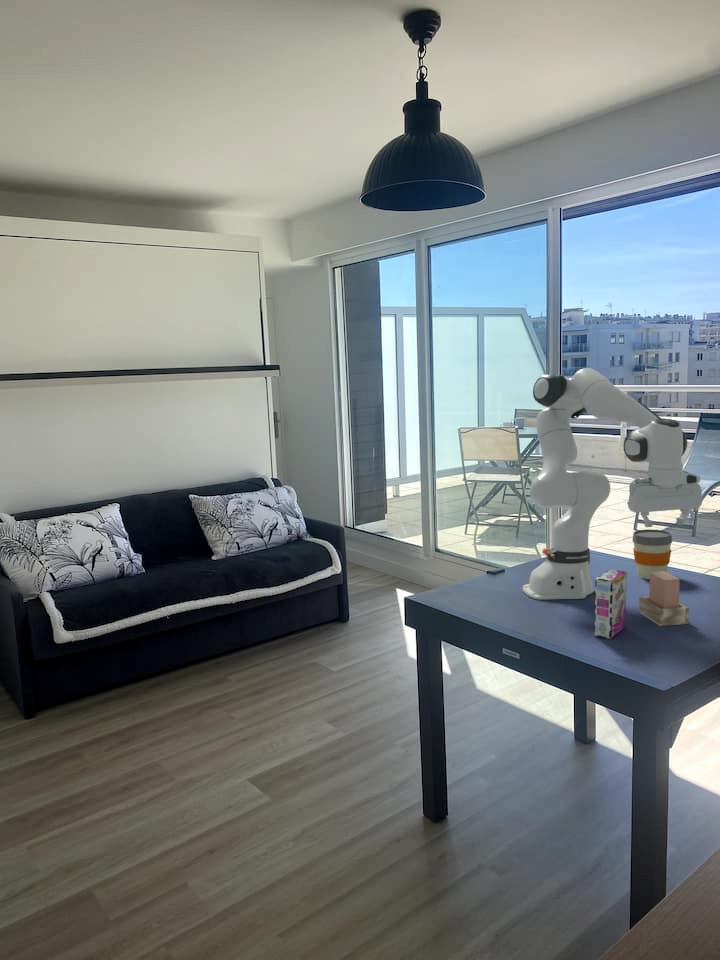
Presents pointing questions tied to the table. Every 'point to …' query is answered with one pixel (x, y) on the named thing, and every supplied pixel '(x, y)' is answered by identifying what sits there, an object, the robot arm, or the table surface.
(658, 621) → the slot holder
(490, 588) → the table surface
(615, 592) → the candy bar box
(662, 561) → the reusable coffee cup
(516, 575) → the table surface
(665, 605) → the peach block
